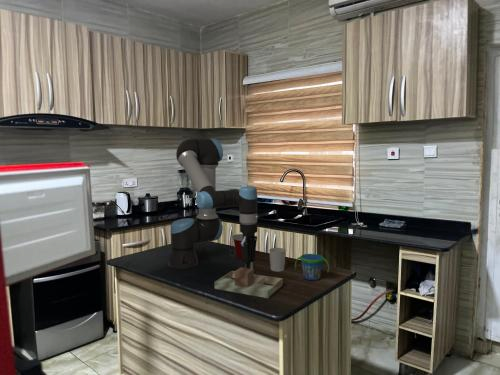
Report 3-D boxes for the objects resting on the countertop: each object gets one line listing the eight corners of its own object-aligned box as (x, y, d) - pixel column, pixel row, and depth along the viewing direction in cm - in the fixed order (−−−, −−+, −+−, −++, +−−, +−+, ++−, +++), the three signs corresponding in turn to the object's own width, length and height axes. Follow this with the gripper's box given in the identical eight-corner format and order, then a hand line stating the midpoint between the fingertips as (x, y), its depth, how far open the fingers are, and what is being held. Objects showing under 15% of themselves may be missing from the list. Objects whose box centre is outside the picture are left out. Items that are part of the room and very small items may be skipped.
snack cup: (330, 276, 177) (331, 255, 176) (326, 284, 167) (327, 261, 166) (298, 272, 183) (298, 252, 181) (292, 279, 173) (292, 258, 172)
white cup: (284, 272, 183) (284, 252, 182) (268, 271, 184) (268, 251, 183) (286, 267, 191) (286, 248, 190) (270, 266, 192) (270, 247, 191)
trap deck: (214, 288, 163) (214, 281, 162) (232, 277, 177) (232, 270, 177) (268, 298, 152) (268, 291, 152) (282, 285, 166) (282, 278, 166)
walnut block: (234, 285, 158) (234, 271, 157) (241, 280, 163) (241, 267, 163) (247, 287, 155) (247, 273, 155) (253, 282, 161) (253, 269, 160)
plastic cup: (237, 261, 201) (237, 239, 200) (229, 256, 211) (229, 235, 209) (255, 258, 206) (255, 237, 205) (246, 253, 216) (246, 233, 214)
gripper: (249, 226, 154) (250, 282, 157) (262, 220, 166) (263, 273, 168) (233, 225, 157) (234, 280, 160) (247, 219, 169) (248, 271, 171)
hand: (249, 276), depth 164 cm, fingers closed
